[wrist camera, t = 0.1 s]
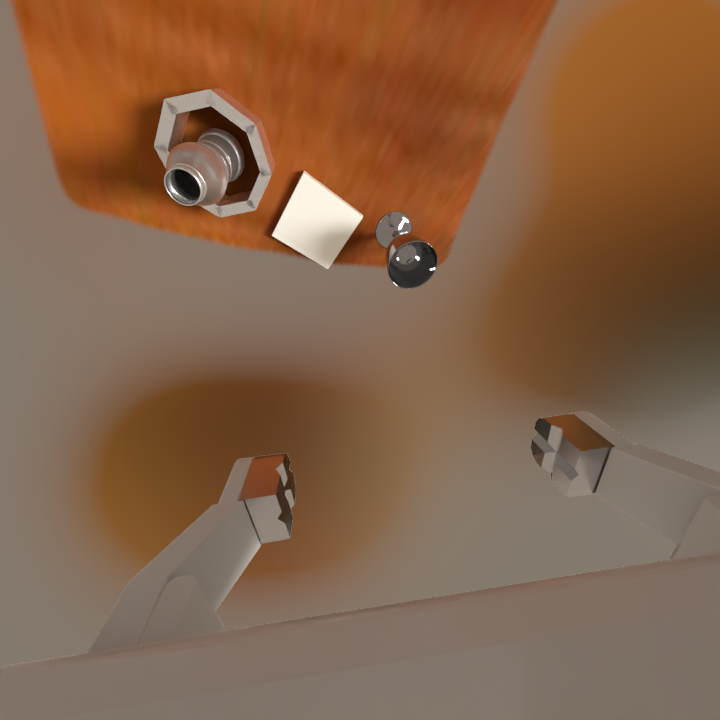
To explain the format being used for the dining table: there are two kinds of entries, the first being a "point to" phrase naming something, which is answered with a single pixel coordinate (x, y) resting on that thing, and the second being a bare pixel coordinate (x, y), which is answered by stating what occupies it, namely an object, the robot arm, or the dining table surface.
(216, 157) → the plastic bottle
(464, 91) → the dining table surface
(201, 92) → the steel collar
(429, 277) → the wine glass
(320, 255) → the ceramic pad
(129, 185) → the dining table surface
